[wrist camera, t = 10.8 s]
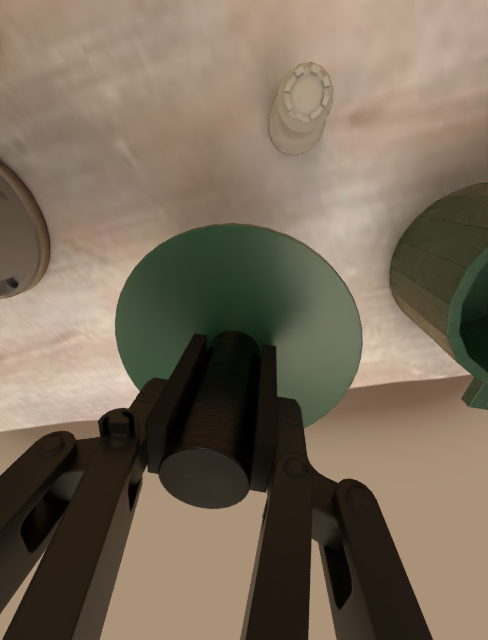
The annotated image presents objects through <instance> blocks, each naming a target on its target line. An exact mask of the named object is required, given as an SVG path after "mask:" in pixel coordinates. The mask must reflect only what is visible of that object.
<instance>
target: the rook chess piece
mask: <svg viewBox="0 0 488 640" xmlns="http://www.w3.org/2000/svg"><path fill="white" fill-rule="evenodd" d="M333 94H334V87H333V84H332V81H331V77H330V75H329V74H328V73H327V71H326V70H325V69H324V68H323V67H322V66H320V65H317V64H315V63H312V62H309V63H302V64H299V65H297V66H296V67H294V68H293V69H291V70H290V71H289V72H288V73H287V75H286V76H285V78H284V79H283V81H282V82H281V85H280V89H279V92H278V95H277V97H278V99H277V100H276V101H275V103H274V104H273V107H272V111H271V114H270V118H269V133H270V136H271V138H272V141H273V143H274V145H275V146H276V147H277V148H278V149H279V150H280V151H281V152H284V153H287V154H289V155H298V154H303V153H304V152H306V151H308V150H310V149H311V148H312V147H313V146H314V145H315V144H316V142H317V141H318V140H319V139H320V136H321V134H322V131H323V128H324V126H325V118H326V117H327V116H328V114H329V112H330V109H331V106H332V104H333Z"/></svg>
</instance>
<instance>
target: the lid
mask: <svg viewBox="0 0 488 640" xmlns="http://www.w3.org/2000/svg"><path fill="white" fill-rule="evenodd" d="M194 333H195V334H202V335H207V346H206V353H205V356H204V358H203V360H202V363H201V365H200V368H199V370H198V372H197V375H196V377H195V380H194V382H193V384H192V387H191V389H190V392H189V394H188V396H187V399H186V401H185V404H184V406H183V408H182V411H181V413H180V416H179V418H178V420H177V423H176V425H175V428H174V430H173V433H172V435H171V437H170V440H169V442H168V445H167V447H166V449H165V452H164V454H163V457H162V459H161V461H160V464H159V468H158V474H159V479H160V481H161V483H162V485H163V486H164V488H165V489H166V490H167V491H168V492H169V493H170V494H171V495H172V496H174V497H175V498H177V499H178V500H180V501H182V502H184V503H187V504H189V505H192V506H195V507H200V508H207V509H220V508H226V507H230V506H233V505H235V504H237V503H239V502H241V501H242V500H243V499H244V498H245V497H246V495H247V494H248V492H249V490H250V486H251V473H252V458H253V445H254V432H255V420H256V407H257V394H258V382H259V369H260V359H261V353H262V347H263V344H267V345H273V346H276V347H277V396H278V397H284V398H290V399H296V401H297V402H298V404H299V405H300V407H301V411H302V419H303V427H304V428H305V427H307V426H309V425H311V424H313V423H314V422H316V421H317V420H319V419H320V418H322V417H323V416H325V415H326V414H327V413H328V412H329V411H330V410H331V409H333V408H334V407H335V406H336V404H337V403H338V402H339V401H340V400H341V399H342V398H343V396H344V395H345V393H346V392H347V390H348V389H349V387H350V386H351V384H352V382H353V380H354V377H355V375H356V373H357V370H358V366H359V363H360V359H361V353H362V345H363V342H362V326H361V321H360V316H359V312H358V309H357V307H356V304H355V301H354V299H353V297H352V295H351V293H350V291H349V289H348V288H347V286H346V284H345V283H344V281H343V280H342V279H341V277H340V276H339V275H338V273H337V272H336V271H335V270H334V268H333V267H332V266H331V265H330V264H329V263H328V262H327V261H326V260H325V259H324V258H323V257H322V256H321V255H320V254H318V253H317V252H315V251H314V250H313V249H311V248H310V247H308V246H307V245H306V244H304V243H302V242H300V241H298V240H296V239H295V238H293V237H291V236H289V235H287V234H284V233H281V232H278V231H275V230H273V229H270V228H265V227H260V226H256V225H251V224H237V223H227V224H213V225H208V226H203V227H199V228H194V229H192V230H189V231H186V232H184V233H181V234H178V235H176V236H174V237H173V238H171V239H169V240H167V241H165V242H164V243H162V244H160V245H159V246H157V247H156V248H155V249H154V250H152V251H151V252H150V253H148V254H147V255H146V256H145V257H144V258H143V259H142V260H141V261H140V262H139V264H138V265H137V266H136V267H135V268H134V270H133V271H132V273H131V274H130V276H129V277H128V279H127V280H126V283H125V285H124V287H123V289H122V291H121V294H120V297H119V301H118V304H117V309H116V318H115V335H116V341H117V347H118V351H119V354H120V357H121V360H122V363H123V365H124V367H125V369H126V371H127V373H128V375H129V376H130V378H131V380H132V381H133V383H134V385H135V386H136V387H137V388H138V390H139V391H141V389H142V388H143V386H144V385H145V383H147V382H148V381H150V380H151V379H152V378H154V377H155V378H161V379H168V380H169V378H170V376H171V374H172V372H173V371H174V369H175V367H176V365H177V363H178V361H179V360H180V358H181V356H182V354H183V352H184V351H185V349H186V347H187V345H188V343H189V342H190V340H191V338H192V336H193V334H194Z"/></svg>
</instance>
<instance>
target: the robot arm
mask: <svg viewBox="0 0 488 640" xmlns="http://www.w3.org/2000/svg"><path fill="white" fill-rule="evenodd" d="M49 253H50V247H49V238H48V233H47V229H46V225H45V222H44V220H43V217H42V215H41V212H40V210H39V208H38V206H37V204H36V203H35V201H34V199H33V198H32V196H31V195H30V193H29V192H28V190H27V189H26V187H25V186H24V185H23V184H22V182H21V181H20V180H19V179H18V178H17V177H16V176H15V175H14V174H13V173H12V172H11V171H10V170H9V169H8V168H7V167H6V166H5V165H4V164H2V163H1V162H0V299H3V298H8V297H12V296H15V295H17V294H20V293H22V292H25V291H27V290H29V289H31V288H32V287H34V286H35V285H36V284H37V283H38V282H39V281H40V280H41V278H42V277H43V275H44V274H45V271H46V269H47V266H48V262H49ZM206 346H207V335H202V334H195V333H194V334H193V336H192V338H191V340H190V342H189V343H188V345H187V347H186V349H185V351H184V352H183V354H182V356H181V358H180V360H179V361H178V363H177V365H176V367H175V369H174V371H173V372H172V374H171V376H170V378H169V380H168V379H161V378H155V377H154V378H152V379H151V380H150V381H148V382H147V383H145V385H144V386H143V388H142V389H141V391H140V393H139V394H138V395H137V397H136V399H135V400H134V401H133V403H132V404H131V406H130V407H129V409H127V408H118V409H114V410H111V411H109V412H107V413H106V414H104V415H103V416H102V417H101V418H100V419H99V421H98V424H99V430H100V437H96V438H89V439H81V440H76V439H75V437H74V435H73V434H72V433H70V432H68V431H57V432H53V433H50V434H48V435H45V436H43V437H42V438H41V439H39V440H38V441H36V442H35V443H34V444H33V445H32V446H31V447H30V448H29V449H28V450H27V451H26V452H25V453H24V454H23V455H22V456H21V457H19V458H18V459H17V460H16V461H15V462H14V463H13V464H12V465H11V466H10V467H9V468H8V469H7V470H6V471H5V472H4V473H3V474H2V475H1V476H0V614H1V612H2V611H3V609H4V608H5V607H6V605H7V604H8V602H9V601H10V599H11V598H12V597H13V595H14V594H15V592H16V591H17V590H18V588H19V587H20V585H21V584H22V582H23V581H24V580H25V578H26V577H27V575H28V574H29V572H30V571H31V570H32V568H33V567H34V565H35V564H36V563H37V561H38V560H39V558H40V557H41V555H42V554H43V553H44V551H45V550H46V551H45V553H44V555H43V557H42V559H41V561H40V564H39V566H38V568H37V570H36V572H35V574H34V576H33V578H32V580H31V582H30V584H29V586H28V588H27V590H26V592H25V594H24V596H23V599H22V600H21V603H20V604H19V607H18V609H17V611H16V613H15V615H14V617H13V619H12V621H11V623H10V625H9V627H8V629H7V631H6V633H5V635H4V637H3V640H100V636H101V632H102V629H103V625H104V621H105V618H106V614H107V610H108V606H109V603H110V599H111V596H112V592H113V589H114V585H115V581H116V577H117V574H118V571H119V567H120V563H121V560H122V556H123V552H124V548H125V545H126V541H127V537H128V534H129V530H130V527H131V523H132V520H133V516H134V512H135V508H136V505H137V501H138V498H139V494H140V490H141V487H142V479H143V478H142V474H143V472H144V470H145V468H146V466H148V472H150V473H156V474H158V468H159V464H160V461H161V459H162V457H163V454H164V452H165V449H166V447H167V445H168V442H169V440H170V437H171V435H172V433H173V430H174V428H175V425H176V423H177V420H178V418H179V416H180V413H181V411H182V408H183V406H184V404H185V401H186V399H187V396H188V394H189V392H190V389H191V387H192V384H193V382H194V380H195V377H196V375H197V372H198V370H199V368H200V365H201V363H202V360H203V358H204V356H205V353H206ZM250 490H253V491H259V492H265V493H266V490H267V500H266V504H265V508H264V513H263V516H262V518H263V520H262V526H261V531H260V536H259V542H258V547H257V552H256V557H255V563H254V568H253V573H252V579H251V584H250V589H249V595H248V600H247V606H246V611H245V616H244V622H243V627H242V632H241V638H240V640H308V629H309V598H310V596H309V595H310V567H311V539H314V540H315V541H317V542H318V544H319V550H320V555H321V559H322V565H323V571H324V576H325V581H326V586H327V592H328V596H329V602H330V607H331V612H332V618H333V623H334V628H335V633H336V639H337V640H433V639H432V636H431V634H430V631H429V629H428V626H427V624H426V621H425V619H424V616H423V614H422V611H421V609H420V606H419V604H418V601H417V599H416V596H415V594H414V591H413V589H412V586H411V584H410V582H409V579H408V577H407V574H406V572H405V569H404V567H403V564H402V562H401V559H400V557H399V554H398V552H397V549H396V547H395V544H394V542H393V539H392V537H391V535H390V532H389V530H388V527H387V525H386V522H385V520H384V517H383V515H382V512H381V510H380V507H379V505H378V502H377V500H376V498H375V496H374V495H373V493H372V492H371V491H370V490H369V489H368V488H367V487H366V486H365V485H364V484H362V483H361V482H359V481H357V480H353V479H343V480H342V481H340V482H339V483H337V482H335V481H333V480H330V479H328V478H326V477H324V476H323V475H321V474H320V473H318V472H317V471H316V470H315V469H314V468H313V467H312V465H311V464H310V462H309V460H308V457H307V452H306V443H305V436H304V427H303V419H302V411H301V407H300V405H299V404H298V402H297V401H296V399H290V398H284V397H278V396H277V347H276V346H273V345H267V344H263V347H262V353H261V359H260V369H259V382H258V394H257V407H256V420H255V432H254V445H253V458H252V473H251V486H250ZM46 548H47V549H46Z"/></svg>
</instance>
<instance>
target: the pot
mask: <svg viewBox="0 0 488 640" xmlns="http://www.w3.org/2000/svg"><path fill="white" fill-rule="evenodd" d="M390 285H391V290H392V293H393V296H394V298H395V300H396V302H397V304H398V305H399V307H400V309H401V310H402V311H403V312H404V313H405V314H406V315H407V316H408V317H409V318H410V319H411V320H413V321H414V322H415V323H416V324H417V325H418V326H419V327H420V328H421V329H422V330H423V331H424V332H425V333H426V334H427V335H429V336H430V337H431V338H432V339H433V340H434V341H435V342H436V343H437V344H438V345H439V346H440V347H441V348H442V349H443V350H445V351H446V352H447V353H448V354H449V355H450V356H451V357H452V358H453V359H454V360H455V361H456V362H457V363H459V364H460V365H461V366H462V367H463V368H464V369H466V370H467V371H468V372H469V373H470V374H472V375H473V376H474V379H473V380H472V382H471V383H470V385H469V387H468V388H467V390H466V392H465V393H464V395H463V396H462V398H461V399H462V400H463V401H464V402H465V403H466V404H467V406H469V407H473V408H479V409H486V410H488V183H480V184H476V185H472V186H469V187H466V188H463V189H460V190H457V191H455V192H453V193H451V194H448V195H447V196H445V197H443V198H442V199H440V200H438V201H437V202H435V203H434V204H432V205H431V206H430V207H428V208H427V209H426V210H425V211H424V212H423V213H421V214H420V215H419V216H418V217H417V218H416V219H415V220H414V222H413V223H412V224H411V225H410V226H409V227H408V229H407V230H406V232H405V233H404V234H403V236H402V238H401V239H400V241H399V243H398V245H397V247H396V250H395V252H394V255H393V258H392V262H391V268H390Z"/></svg>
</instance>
